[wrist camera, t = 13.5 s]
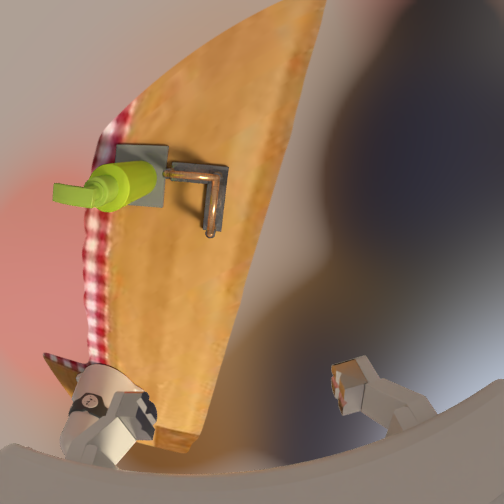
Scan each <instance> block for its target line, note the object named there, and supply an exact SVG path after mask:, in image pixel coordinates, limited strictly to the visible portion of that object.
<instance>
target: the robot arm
mask: <svg viewBox="0 0 504 504" xmlns="http://www.w3.org/2000/svg"><path fill="white" fill-rule="evenodd" d="M331 368H332V369H331V371H332V374H333V377H332V378H331V384H332V390H333V393H334V396H335V398H337V399H338V406H339V409H340V411H341V414H342V415H343V416H344V415H348V414H351V413H355V412H358V411H361V412H362V413H364V414H365V415H367V416H368V417H370V418H371V419H373V420H374V421H376V422H377V423H379V424H381V425H382V426H384V427H385V428H387V429H388V431H387V434H386V437H385V439H382V440H379V441H376V442H374V443H371V444H368V445H365V446H362V447H359V448H356V449H352V450H349V451H346V452H342V453H339V454H335V455H332V456H328V457H324V458H320V459H316V460H312V461H308V462H302V463H298V464H292V465H287V466H281V467H275V468H269V469H262V470H254V471H245V472H235V473H220V474H159V473H145V472H135V471H126V470H120V469H119V468H118V467H117V466H116V464H117V463H118V462H119V461H120V459H121V458H122V457H123V456H124V455H125V454H126V452H127V451H128V450H129V449H130V448H131V447H132V445H133V444H134V443H135V442H136V440H153V435H154V431H155V429H154V427H153V425H154V424H155V423H156V421H157V410H156V407H155V405H154V403H152V402H151V401H149V395H148V393H147V392H145V391H144V390H142V389H141V388H139V387H138V386H136V385H134V384H133V383H132V382H131V381H130V380H129V379H128V378H127V377H126V376H125V375H124V374H122V373H121V372H119V371H118V370H116V369H114V368H112V367H109V366H106V365H101V364H93V365H90V366H88V367H86V369H85V370H84V372H83V373H80V374H78V375H77V377H76V380H77V382H78V383H77V386H76V388H75V391H74V393H73V396H72V400H73V404H72V406H71V408H70V411H69V418H68V420H67V422H66V425H65V427H64V429H63V431H62V434H61V436H60V447H61V449H62V452H63V453H64V455H65V456H66V457H65V459H63V458H59V457H55V456H52V455H48V454H45V453H42V452H39V451H36V450H33V449H32V448H30V447H24V446H21V445H19V444H15V443H13V444H10V445H8V446H6V447H4V448H3V449H1V450H0V504H504V379H498V380H495V381H494V382H492V383H490V384H489V385H488V386H486V387H484V388H483V389H481V390H480V391H478V392H477V393H475V394H474V395H472V396H470V397H469V398H467V399H465V400H464V401H462V402H460V403H459V404H457V405H455V406H453V407H451V408H450V409H448V410H446V411H444V412H442V413H440V414H437V413H436V411H435V410H434V408H433V407H432V405H431V404H430V402H429V401H428V399H427V398H426V397H425V396H423V395H421V394H419V393H416V392H414V391H412V390H409V389H407V388H405V387H402V386H400V385H398V384H395V383H393V382H391V381H389V380H386V379H384V378H382V379H380V378H379V376H378V374H377V373H376V371H375V370H374V368H373V366H372V365H371V363H370V361H369V360H368V358H367V357H366V356H365V355H364V356H361V357H358V358H354V359H351V360H347V361H344V362H340V363H337V364H333V365H332V367H331Z"/></svg>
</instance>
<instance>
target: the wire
mask: <svg viewBox="0 0 504 504" xmlns="http://www.w3.org/2000/svg"><path fill="white" fill-rule="evenodd" d="M228 170H229V167H223V166H213V165H203V164H192V163H179V162H172V168H168V169H165V170H163V172H162V176H163V177H164V178H166V179H168V178H171V181H180V182H192V183H203V184H207V193H206V202H205V212H204V223H203V230H206V232H205V234H206V236H207V237H208V238H213V237H214V236H215V232H216V231H220V232H221V228H222V219H223V210H224V202H225V194H226V185H227V177H228Z"/></svg>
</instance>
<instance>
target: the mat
mask: <svg viewBox="0 0 504 504" xmlns="http://www.w3.org/2000/svg"><path fill="white" fill-rule="evenodd" d="M168 149H169V146H152V145H117V147H116V158H115V163H120V162H130V161H146V162H148V163H150V164H151V165H152V166H153V167H154V169H155V171H156V174H157V182H156V185H155V187H154V189H153V190H152V191H151V192H150V193H149V194H147V195H145V196H143V197H141V198H139V199H137V200H135V201H133V202H131V203H130V204H128V205H136V206H148V207H160V208H163V203H164V190H165V178H164V177H163V176H162V172H163V170H165V169H166V168H167V158H168Z"/></svg>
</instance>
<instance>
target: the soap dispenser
mask: <svg viewBox="0 0 504 504" xmlns="http://www.w3.org/2000/svg"><path fill="white" fill-rule="evenodd" d="M156 182H157V174H156V171H155V169H154V167H153V166H152V165H151V164H150V163H148V162H146V161H130V162H120V163H111V164H104V165H101V166H99V167H98V168H96V169H95V170H94V171H93V173H92V174H91V176H90V178H89V180H88V181H87V182H86V183H85V185H84V187H79V186H72V185H65V184H60V183H54V188H53V201H55V202H59V203H62V204H67V205H72V206H79V207H85V208H94V207H96V208H97V209H99V210H101V211H103V212H114V211H116V210H118V209H120V208H122V207H124V206H126V205H128V204H130V203H131V202H133V201H135V200H137V199H139V198H141V197H143V196H145V195H147V194H149V193H150V192H151V191H152V190H153V189H154V187H155V185H156Z"/></svg>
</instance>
